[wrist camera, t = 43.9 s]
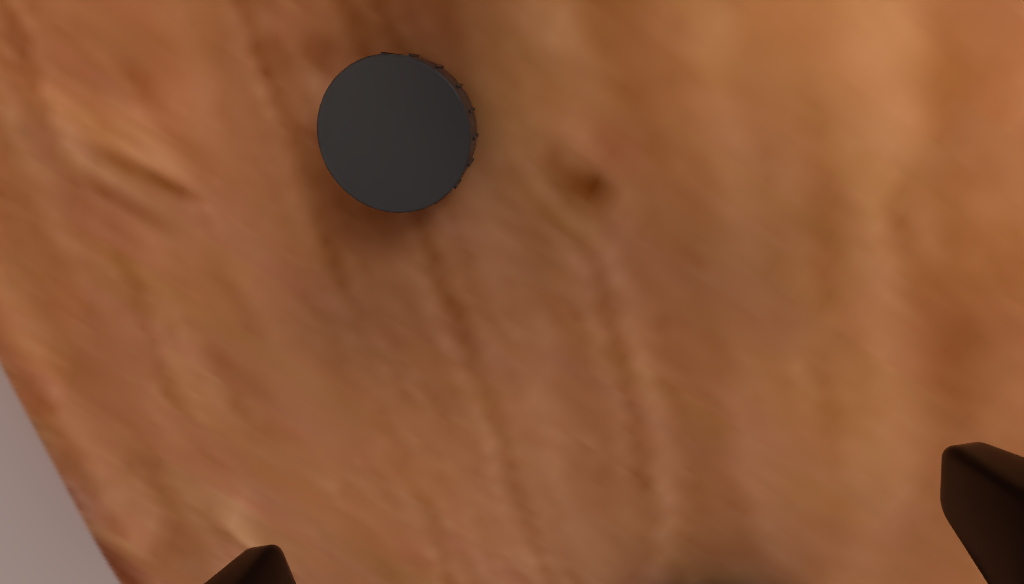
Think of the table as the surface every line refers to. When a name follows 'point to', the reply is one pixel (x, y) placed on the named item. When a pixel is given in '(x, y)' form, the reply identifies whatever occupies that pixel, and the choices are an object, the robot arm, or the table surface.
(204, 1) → the table surface
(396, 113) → the cap
